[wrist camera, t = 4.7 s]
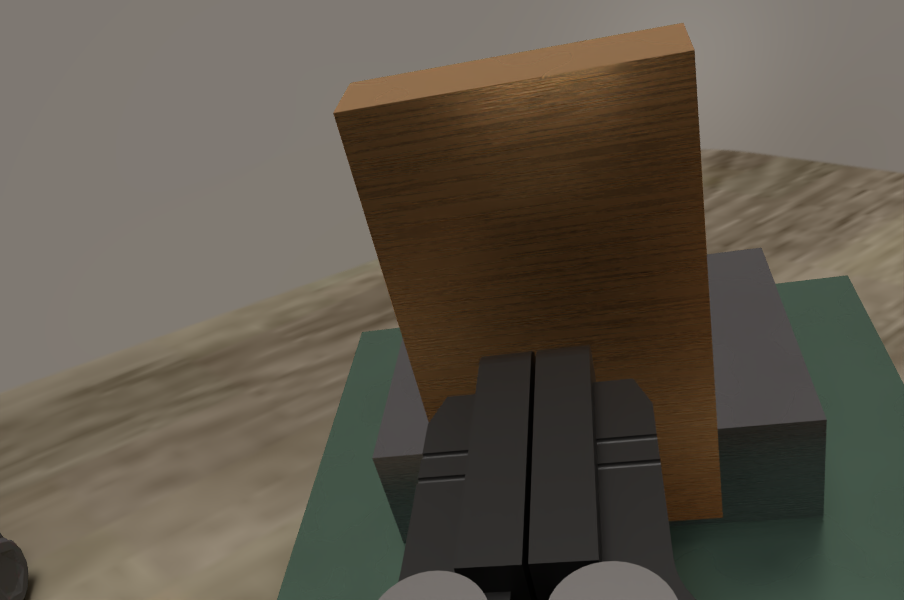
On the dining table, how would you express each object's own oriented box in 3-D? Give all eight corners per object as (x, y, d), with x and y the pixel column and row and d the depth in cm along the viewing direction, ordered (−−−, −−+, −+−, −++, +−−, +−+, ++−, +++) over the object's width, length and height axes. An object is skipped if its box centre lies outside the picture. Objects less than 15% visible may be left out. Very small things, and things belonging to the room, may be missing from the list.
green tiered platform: (286, 672, 21) (172, 466, 17) (373, 365, 31) (314, 191, 27) (1006, 650, 18) (1067, 389, 14) (846, 314, 27) (855, 107, 24)
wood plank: (463, 534, 17) (333, 112, 12) (490, 301, 24) (414, -30, 19) (722, 518, 16) (694, 50, 11) (674, 279, 23) (643, -77, 18)
